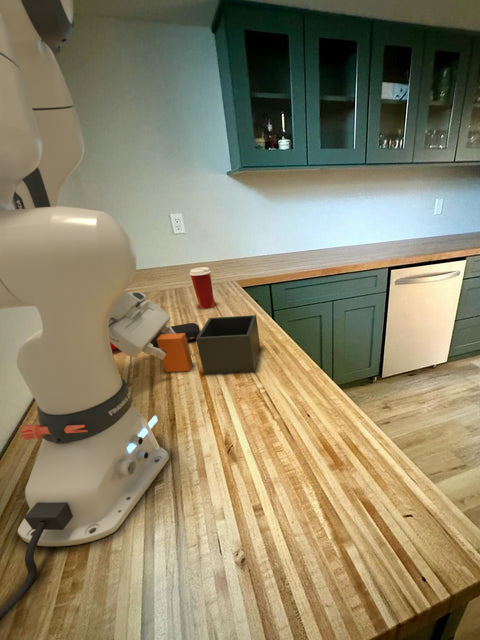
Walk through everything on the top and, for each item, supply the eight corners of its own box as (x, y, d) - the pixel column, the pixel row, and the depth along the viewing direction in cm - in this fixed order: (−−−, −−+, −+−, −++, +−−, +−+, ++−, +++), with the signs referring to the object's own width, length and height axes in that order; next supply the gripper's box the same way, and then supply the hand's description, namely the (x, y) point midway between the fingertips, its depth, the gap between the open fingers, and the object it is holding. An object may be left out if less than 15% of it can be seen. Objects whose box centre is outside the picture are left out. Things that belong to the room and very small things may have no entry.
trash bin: (254, 371, 82) (249, 335, 77) (203, 374, 83) (195, 338, 78) (260, 347, 94) (256, 315, 89) (215, 350, 94) (209, 317, 90)
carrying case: (150, 351, 96) (202, 341, 100) (147, 341, 95) (200, 332, 99) (151, 337, 105) (199, 329, 109) (148, 328, 104) (197, 320, 108)
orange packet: (189, 370, 85) (181, 338, 80) (166, 372, 85) (156, 339, 80) (193, 364, 87) (185, 332, 83) (170, 366, 88) (161, 334, 83)
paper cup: (221, 304, 130) (214, 267, 123) (206, 310, 125) (198, 272, 118) (207, 302, 134) (199, 266, 127) (192, 308, 129) (183, 270, 122)
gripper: (103, 318, 68) (163, 358, 73) (143, 289, 86) (189, 323, 91) (90, 339, 71) (149, 377, 75) (131, 307, 89) (177, 339, 93)
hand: (171, 347), depth 83 cm, fingers open, 8 cm apart
